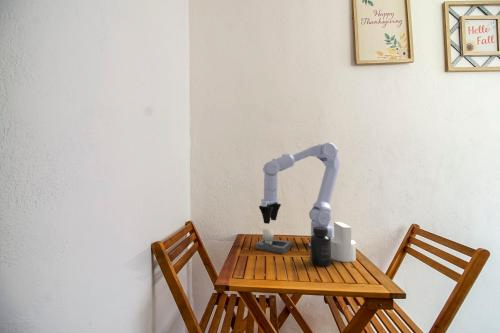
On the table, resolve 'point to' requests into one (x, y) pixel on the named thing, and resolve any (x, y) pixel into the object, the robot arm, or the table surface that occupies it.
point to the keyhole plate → (274, 246)
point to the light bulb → (268, 235)
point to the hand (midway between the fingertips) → (270, 221)
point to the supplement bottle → (320, 247)
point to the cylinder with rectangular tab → (343, 243)
